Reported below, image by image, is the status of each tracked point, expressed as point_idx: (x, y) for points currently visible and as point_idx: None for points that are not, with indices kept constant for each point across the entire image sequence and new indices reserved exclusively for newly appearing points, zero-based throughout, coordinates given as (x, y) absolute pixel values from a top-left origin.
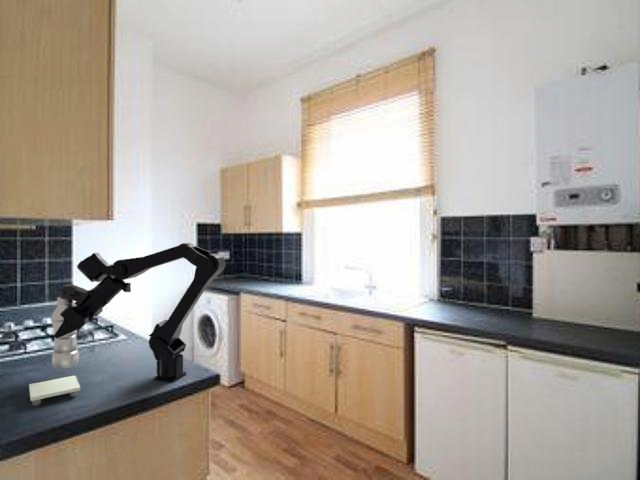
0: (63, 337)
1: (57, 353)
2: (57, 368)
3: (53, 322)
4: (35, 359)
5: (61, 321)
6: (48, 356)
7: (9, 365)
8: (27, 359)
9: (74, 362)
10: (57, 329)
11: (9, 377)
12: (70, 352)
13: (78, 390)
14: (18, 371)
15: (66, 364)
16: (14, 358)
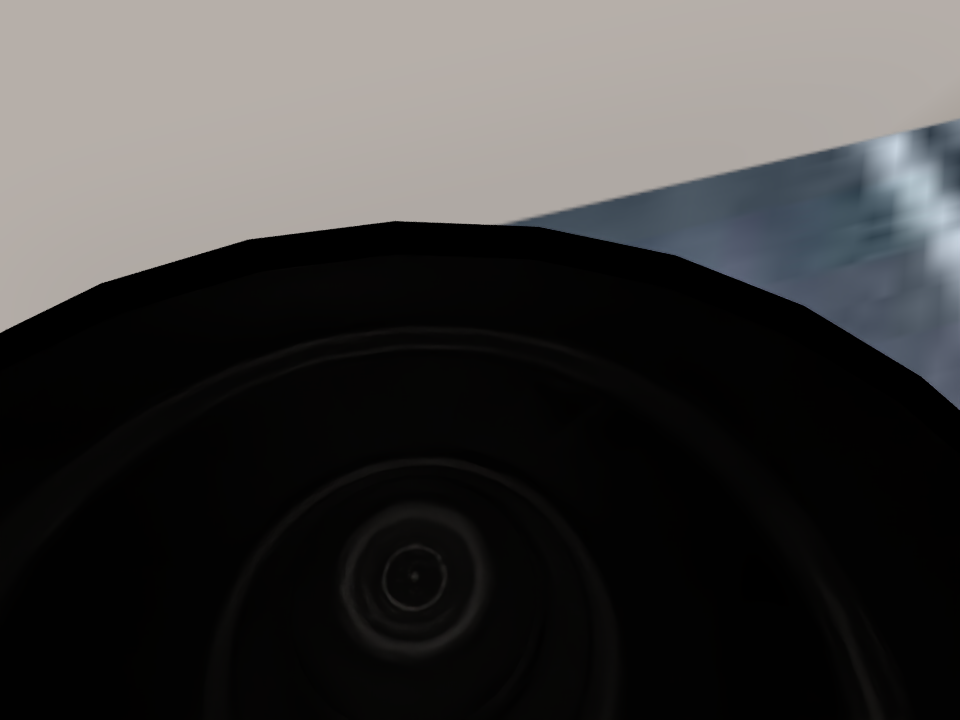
0: (226, 656)
1: (311, 535)
2: (340, 529)
3: (174, 429)
4: (863, 276)
5: None
6: (914, 333)
7: (774, 177)
8: (867, 236)
9: (341, 686)
10: (177, 559)
11: (567, 226)
12: (304, 685)
13: None
14: (660, 243)
15: (300, 619)
16: (890, 172)
